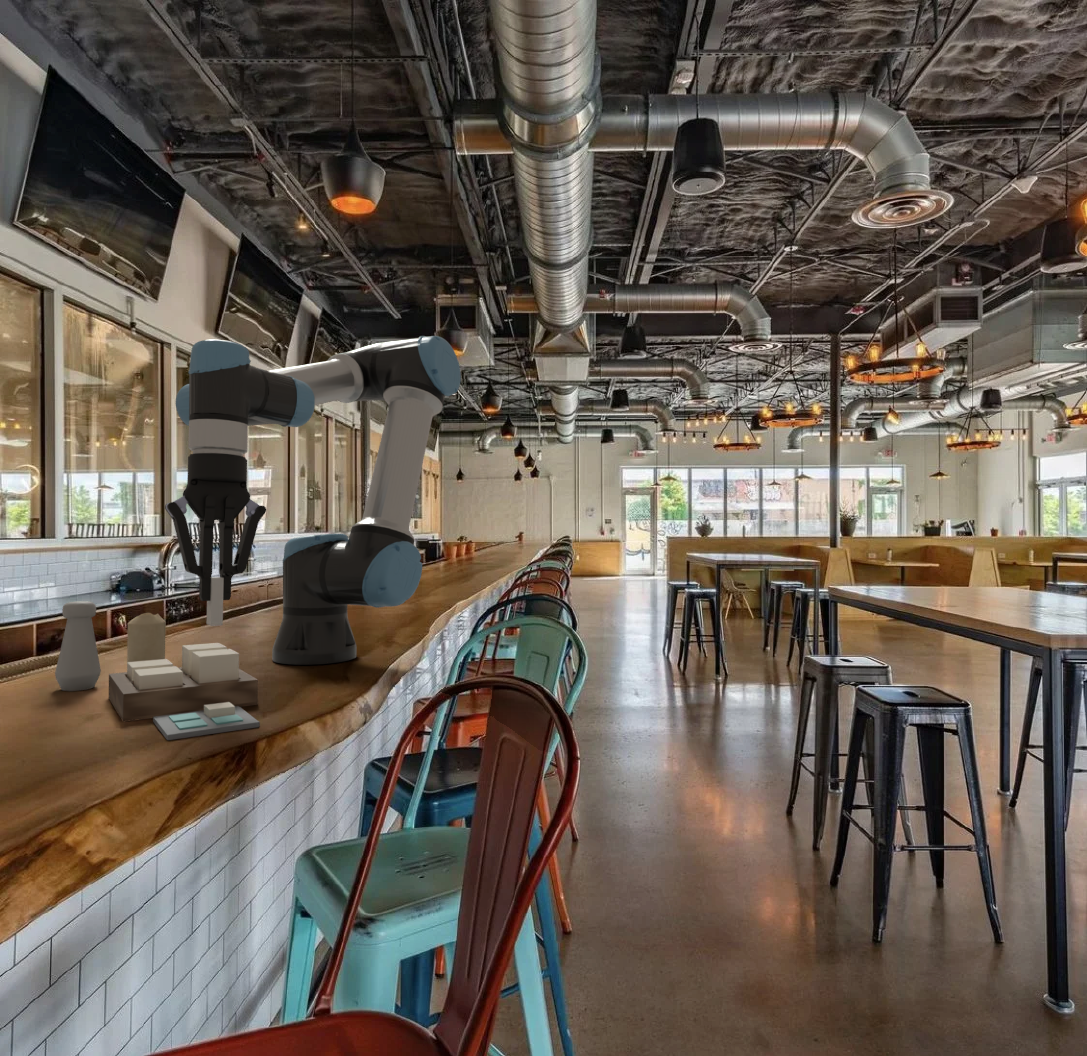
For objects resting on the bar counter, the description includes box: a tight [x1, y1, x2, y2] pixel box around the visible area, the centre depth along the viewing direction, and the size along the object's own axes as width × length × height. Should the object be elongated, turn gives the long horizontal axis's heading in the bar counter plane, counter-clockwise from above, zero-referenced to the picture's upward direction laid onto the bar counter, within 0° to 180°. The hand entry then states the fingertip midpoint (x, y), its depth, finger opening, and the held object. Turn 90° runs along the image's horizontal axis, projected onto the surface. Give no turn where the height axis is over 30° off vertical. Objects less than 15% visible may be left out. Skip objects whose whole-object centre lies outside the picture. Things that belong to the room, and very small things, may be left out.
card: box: [152, 702, 260, 741], centre depth 88 cm, size 10×10×2 cm
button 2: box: [134, 665, 183, 690], centre depth 95 cm, size 5×5×4 cm
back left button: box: [181, 642, 228, 675], centre depth 105 cm, size 5×5×4 cm
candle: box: [126, 612, 167, 663], centre depth 119 cm, size 6×6×10 cm
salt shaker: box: [54, 600, 102, 692], centre depth 108 cm, size 6×6×13 cm
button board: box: [108, 666, 259, 723], centre depth 100 cm, size 16×16×3 cm
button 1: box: [126, 658, 174, 681], centre depth 100 cm, size 5×5×4 cm
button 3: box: [192, 648, 240, 684], centre depth 99 cm, size 5×5×4 cm
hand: (214, 624), depth 99 cm, fingers closed
